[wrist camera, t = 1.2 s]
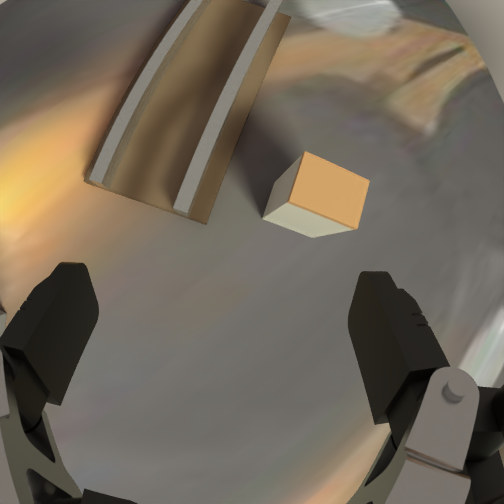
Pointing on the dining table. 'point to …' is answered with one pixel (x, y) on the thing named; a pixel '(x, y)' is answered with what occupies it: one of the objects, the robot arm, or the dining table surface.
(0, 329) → the large tray rim
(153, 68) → the rail board
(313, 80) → the dining table surface
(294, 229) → the block
